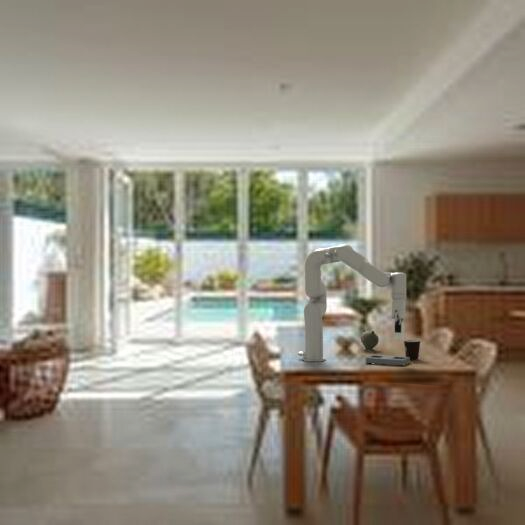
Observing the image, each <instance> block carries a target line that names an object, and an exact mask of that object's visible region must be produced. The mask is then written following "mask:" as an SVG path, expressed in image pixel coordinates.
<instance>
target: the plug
mask: <svg viewBox="0 0 525 525" xmlns="http://www.w3.org/2000/svg"><path fill="white" fill-rule="evenodd" d="M393 325H394V328H393V329H394V330H393V331H394V332H393V333H394V341H404V340H405V322H400V325H401V333H397V332H395V321H394V323H393Z"/></svg>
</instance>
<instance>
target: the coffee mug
mask: <svg viewBox="0 0 525 525" xmlns="http://www.w3.org/2000/svg"><path fill="white" fill-rule="evenodd" d="M403 343H404V352H405V357H410V361H417V360H416V359H418V360H419V355H420V347H421V340H419V339H404V340H403Z"/></svg>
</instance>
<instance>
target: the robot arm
mask: <svg viewBox="0 0 525 525" xmlns="http://www.w3.org/2000/svg"><path fill="white" fill-rule="evenodd" d="M339 262H342V263H343V264H345V265H347V266H348V267H350V268H351V269H353V270H354V271H355V272H357V273H358V274H359V275H361V276H362V277H363V278H365V279H366V280H368V281H370V282H371V283H372V284H374V285H375V286H377V287H379V288H387V287H390V286H391V300H392V301H391V302H392V304H391V319H393V320H394V322H395V332H397V333H401V325H400V322H404V320H405V317H406V300H407V274H406V273H404V272H388V271H381V270H380V269H378V268H377V267H375V266H374V265H373V264H372V263H371V262H370V261H369V259H368V258H366V256H364V255H362V254H361V253H360V252H357V251H356V250H354V248H353V247H352V246H351V245H349V244H346V243H345V244H339V245H337V246H331V247H324V248H318V249H315V250H313V251H312V252H311V253H309V254H308V255H307V257H306V260H305V263H304V286H305V287H304V288H305V289H304V291H305V295H306V297H308V298H309V302H307V304H306V305H305V306H304V307H303V308H304V309H303V316H304V351H298V356H302V358H301V359H302V361H303V360H304V362H310V361H319V362H325V361H326V360H327V358H326V357H325V356H324V329H323V328H324V327H323V326H324V325H323V324H324V323H323V316H325V314H326V312H327V307H328V306H327V300H328V299H327V287H326V285H325V283H324V282H323V281H322V272H321V267H322V265H328V264H333V263H339ZM404 323H405V322H404ZM395 332H394V333H395Z"/></svg>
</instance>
